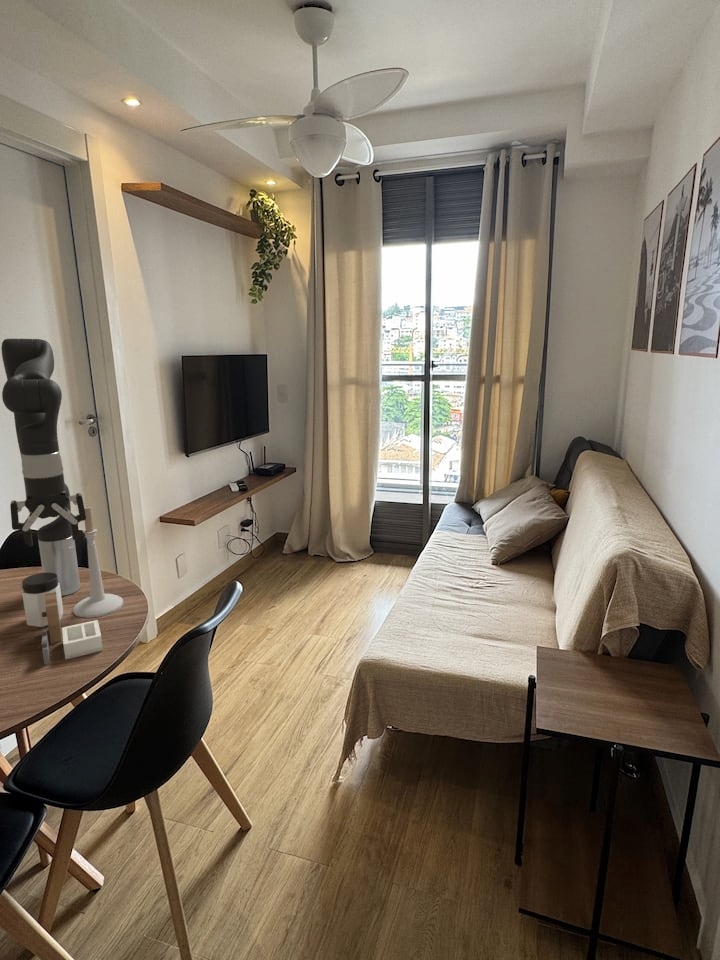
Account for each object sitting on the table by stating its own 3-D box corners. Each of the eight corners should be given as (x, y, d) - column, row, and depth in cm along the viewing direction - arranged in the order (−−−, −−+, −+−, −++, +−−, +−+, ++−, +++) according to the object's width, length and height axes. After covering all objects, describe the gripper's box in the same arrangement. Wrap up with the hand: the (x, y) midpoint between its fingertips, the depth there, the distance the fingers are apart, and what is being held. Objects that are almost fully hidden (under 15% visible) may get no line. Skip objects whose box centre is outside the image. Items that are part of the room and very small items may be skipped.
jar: (33, 613, 147) (27, 573, 144) (66, 610, 149) (60, 570, 146) (23, 629, 138) (17, 587, 136) (58, 625, 141) (52, 583, 138)
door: (45, 630, 138) (40, 594, 136) (60, 627, 140) (56, 592, 138) (46, 644, 132) (40, 607, 129) (61, 641, 133) (56, 604, 131)
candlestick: (73, 602, 154) (60, 502, 147) (121, 593, 159) (111, 497, 152) (73, 621, 143) (59, 515, 136) (125, 611, 148) (114, 508, 141)
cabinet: (44, 646, 130) (41, 628, 129) (99, 633, 137) (97, 616, 135) (44, 665, 123) (41, 645, 122) (102, 650, 129) (100, 632, 128)
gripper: (78, 465, 122) (86, 531, 126) (5, 472, 115) (16, 542, 119) (81, 472, 116) (89, 542, 120) (3, 480, 109) (15, 553, 113)
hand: (52, 542), depth 120 cm, fingers open, 8 cm apart
